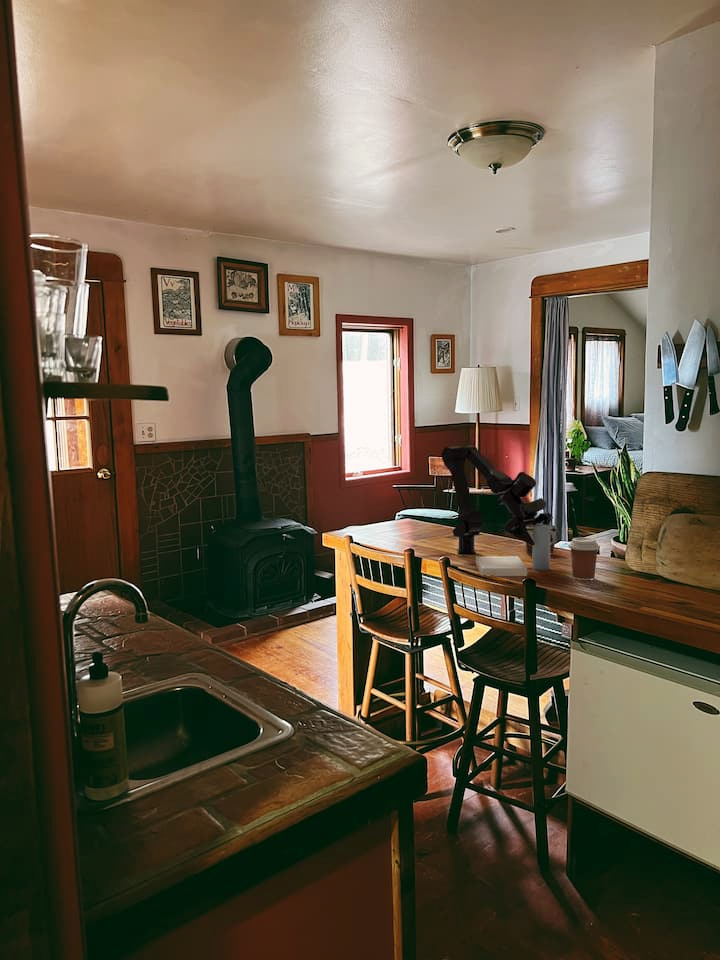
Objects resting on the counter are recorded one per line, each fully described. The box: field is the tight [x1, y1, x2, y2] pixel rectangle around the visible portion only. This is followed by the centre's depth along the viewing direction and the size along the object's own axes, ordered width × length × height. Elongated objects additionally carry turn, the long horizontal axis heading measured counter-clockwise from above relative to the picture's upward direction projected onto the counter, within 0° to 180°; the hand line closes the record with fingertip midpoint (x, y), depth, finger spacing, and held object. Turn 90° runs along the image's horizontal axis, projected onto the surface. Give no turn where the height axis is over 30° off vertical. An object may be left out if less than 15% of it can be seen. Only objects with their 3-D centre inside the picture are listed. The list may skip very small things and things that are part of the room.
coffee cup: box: [568, 537, 600, 581], centre depth 215 cm, size 9×9×12 cm
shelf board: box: [475, 555, 528, 577], centre depth 229 cm, size 18×14×2 cm
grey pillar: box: [531, 524, 551, 571], centre depth 229 cm, size 6×6×14 cm
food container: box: [525, 524, 559, 555], centre depth 255 cm, size 12×6×10 cm, turn 84°
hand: (542, 543), depth 229 cm, fingers open, 9 cm apart
